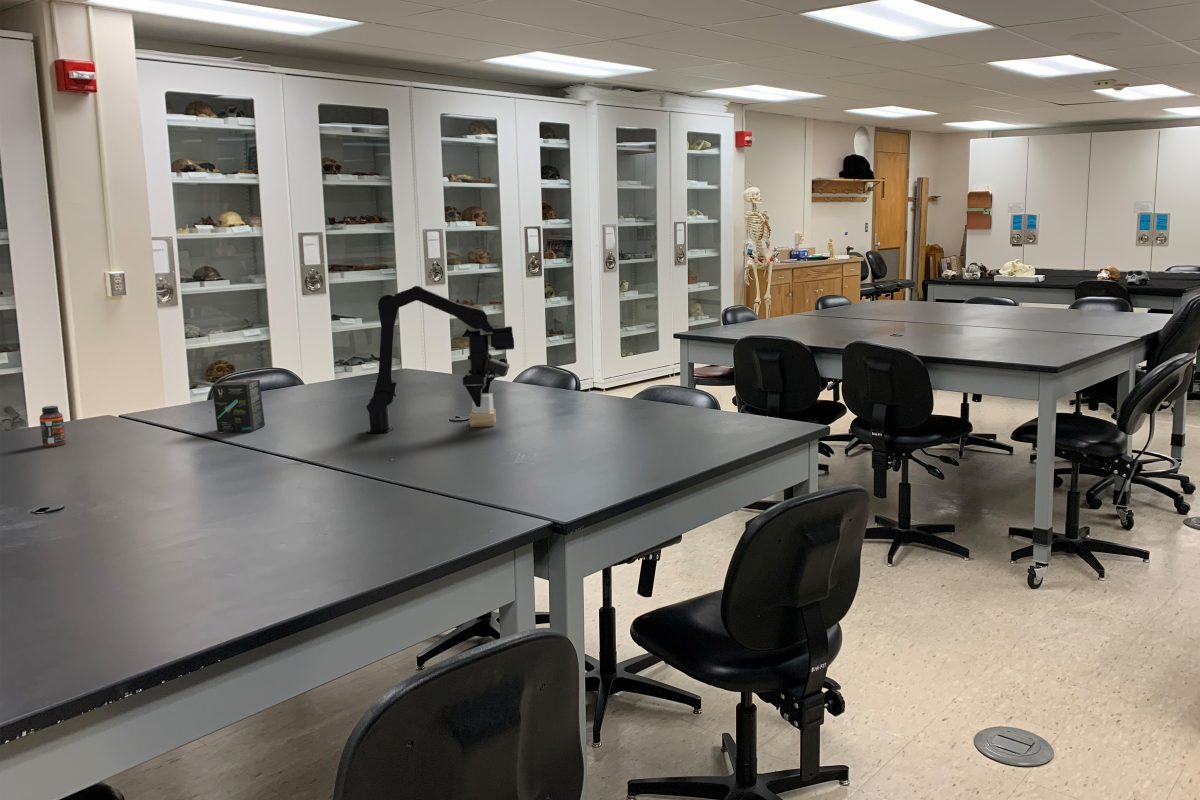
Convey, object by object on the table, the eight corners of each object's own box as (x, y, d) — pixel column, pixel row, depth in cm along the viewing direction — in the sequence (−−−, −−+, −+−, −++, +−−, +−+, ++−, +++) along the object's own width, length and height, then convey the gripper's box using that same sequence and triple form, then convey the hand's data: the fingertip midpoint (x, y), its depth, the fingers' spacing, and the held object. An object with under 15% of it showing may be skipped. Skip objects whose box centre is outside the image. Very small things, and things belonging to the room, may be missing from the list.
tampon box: (265, 426, 296) (260, 378, 294) (252, 432, 287) (246, 384, 285) (231, 426, 298) (226, 379, 295) (216, 433, 289) (211, 384, 286)
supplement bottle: (56, 447, 277) (50, 408, 275) (38, 447, 278) (32, 408, 276) (71, 442, 283) (66, 404, 281) (53, 442, 284) (48, 404, 282)
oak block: (494, 426, 283) (493, 413, 283) (470, 427, 283) (469, 414, 283) (496, 422, 290) (495, 408, 290) (472, 423, 290) (472, 409, 289)
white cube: (489, 413, 283) (488, 396, 282) (473, 413, 284) (472, 396, 283) (493, 409, 288) (492, 393, 287) (477, 410, 289) (476, 393, 288)
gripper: (499, 355, 273) (502, 409, 275) (512, 346, 291) (515, 397, 294) (460, 356, 274) (464, 410, 277) (476, 347, 292) (479, 398, 295)
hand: (482, 403), depth 286 cm, fingers open, 9 cm apart
